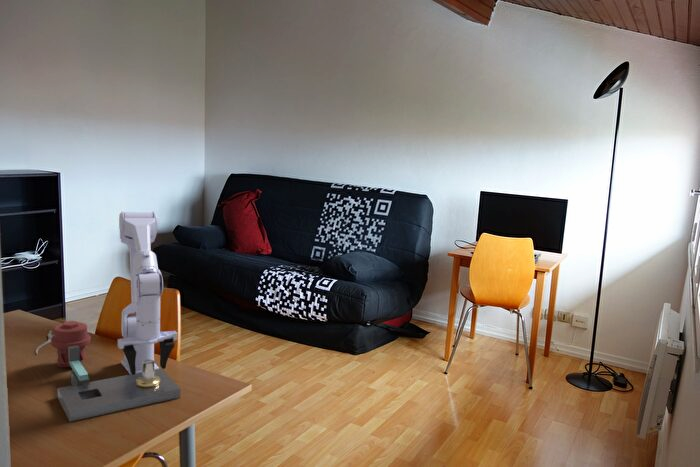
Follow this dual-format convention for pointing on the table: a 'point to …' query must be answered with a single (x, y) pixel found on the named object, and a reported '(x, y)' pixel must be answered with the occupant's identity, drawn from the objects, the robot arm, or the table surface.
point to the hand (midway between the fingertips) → (148, 370)
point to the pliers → (45, 342)
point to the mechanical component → (70, 340)
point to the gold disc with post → (148, 375)
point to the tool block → (113, 395)
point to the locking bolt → (76, 362)
